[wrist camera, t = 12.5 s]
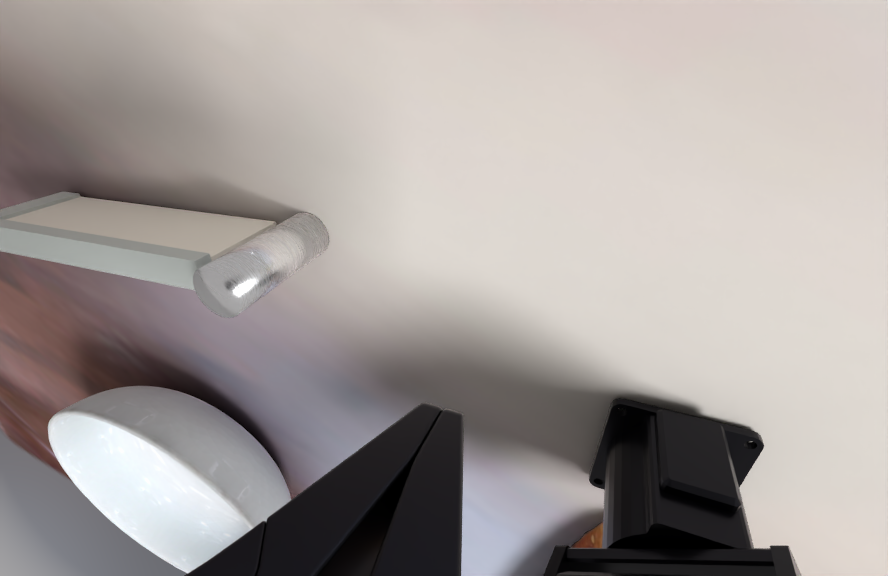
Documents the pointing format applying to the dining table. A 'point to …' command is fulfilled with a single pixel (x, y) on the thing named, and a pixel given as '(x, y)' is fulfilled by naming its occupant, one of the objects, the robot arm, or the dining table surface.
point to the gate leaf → (123, 236)
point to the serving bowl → (168, 470)
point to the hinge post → (260, 264)
